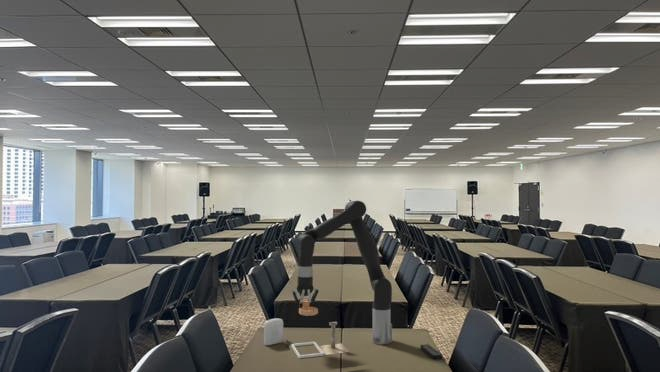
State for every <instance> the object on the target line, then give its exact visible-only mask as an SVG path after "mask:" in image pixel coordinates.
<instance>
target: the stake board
mask: <svg viewBox="0 0 660 372" xmlns="http://www.w3.org/2000/svg"><path fill="white" fill-rule="evenodd" d="M328 323H329V326H331V327H330V328H331V329H330V344H324V345H318V346H319V347H320V349H321V350H322V351H323V352H324V355H325V356H326V355H327V356H328V355H334V354H335V355H336V354H343V353H350V352H351V351H350V350H349V348H347V347H346V346H345V345H344V344H343V343H342V342H341V343H336V326H337V325H338V322H337V321H331V322H329V321H328Z"/></svg>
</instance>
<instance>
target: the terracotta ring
mask: <svg viewBox="0 0 660 372" xmlns="http://www.w3.org/2000/svg"><path fill="white" fill-rule="evenodd" d="M302 304H303V307H302V308H299V307H298V314H299V315H301V316H306V317H308V316H316V315H318V314H319V308H317V307H315V306H311V307H310V306H309V302H308V300H303V301H302Z"/></svg>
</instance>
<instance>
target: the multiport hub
mask: <svg viewBox="0 0 660 372" xmlns="http://www.w3.org/2000/svg"><path fill="white" fill-rule="evenodd" d="M420 350H421V351H422V352H423V353H424V354H426V355H427V356H428V357H429V358H431V360H434V361H435V360H442V359H443V355H442V354H441V353H440V352H439V351H438V350H436V349H435V348H433V346H431V345H430V344H428V343H427V344H420Z"/></svg>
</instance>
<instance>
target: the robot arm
mask: <svg viewBox="0 0 660 372" xmlns="http://www.w3.org/2000/svg"><path fill="white" fill-rule="evenodd" d="M366 212H367V205H366V204H365V203H364V202H363V201H361V200H352V201H348V202H346V204H345V206H344V211H342V212H340V213H339V214H337V215H335V216H333V217H331V218H328V219H326V220H325V221H322V222H321V223H320V224H318V225H316V226H315V227H313V228H311V229H309V230H307V231H305V232H303V233H301V234H299V236H298V237H297V238H296V244H297V246H298V247H299V248H300V253H299V255H298V259H297V260H298V265H297V285H296V288H295V289H294V290H291V294H292V297H293V298H294V301H295V302H296V303H298V309H299V308H302V307H303V304H302V301H304V297H306V299H307V301H308V302H309V306H310V307H312V303H313V302H315V301H316V299H317V297H318V294H319V289H318V288H314V285H313V284H314V269H313V268H314V267H313V261H314V260H313V256H314V252H315V242H317V241H320V240H323V239H326V238H327V237H328V236H329V235H331V234H333V233H334V232H336V231H337V230H339V229H341V228H342V227H344V226H345V225H347V224H348V223H349V224H350V226H351V229H352V233H353V235H354V237H355V241H356V244H357V247H358V250H359V251H358V252H359V253H360V255H361V259H362V261H363V263H364V265H365V268H366V270H367V273H368V276H369V277H368V278H369V282H370V285H371V286H370V287H371V289H372V290H373V292H374V293H373V294H374V295H373V302H372V342H373V343H374V344H377V345H388V344H390V343H391V344H392V343H393V324H392V323H391V305H392V301H393V300H392V299H393V295H392V294H393V293H392V292H393V287H392V283H391V281H390V280H389V279H387V278H386V276H385V275H384V272H383V270H382V266H381V263H380V262H381V261H380V255H379V250H378V245H377V244H376V240H375V239H374V236H373V235H372V234H371V232H370V231H369V229H368V228H367V226H366V225H365V221H364V218H363V217H364V216H365V215H366ZM312 292H313V294H312ZM297 293H298V294H299V296H297ZM311 294H312V296H311ZM298 297H299V299H298Z"/></svg>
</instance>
